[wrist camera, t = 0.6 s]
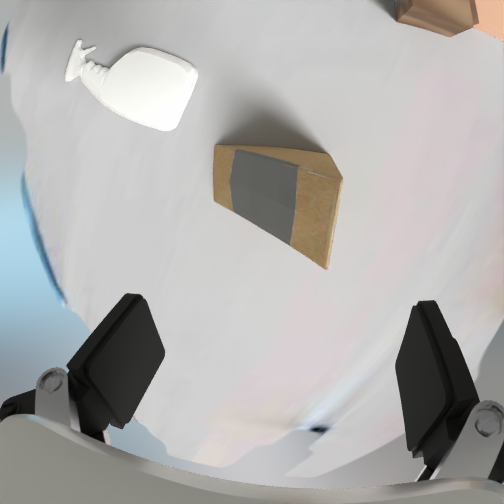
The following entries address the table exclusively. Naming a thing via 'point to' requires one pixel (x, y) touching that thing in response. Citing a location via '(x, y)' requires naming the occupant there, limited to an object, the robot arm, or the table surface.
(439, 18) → the wooden bridge block
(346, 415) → the table surface
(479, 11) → the peach flat block
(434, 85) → the table surface
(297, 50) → the table surface
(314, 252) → the sandwich container
